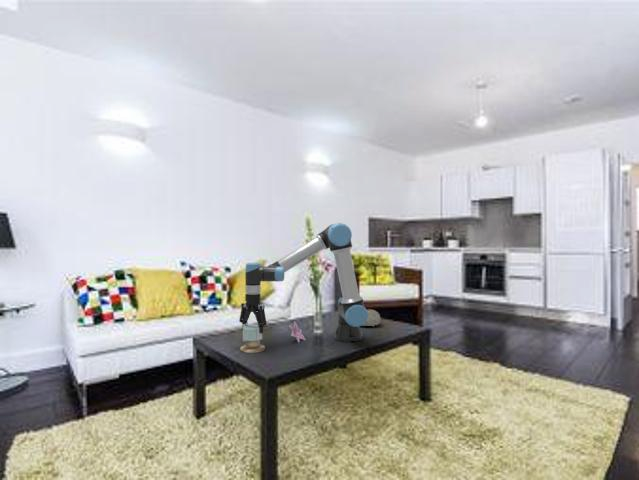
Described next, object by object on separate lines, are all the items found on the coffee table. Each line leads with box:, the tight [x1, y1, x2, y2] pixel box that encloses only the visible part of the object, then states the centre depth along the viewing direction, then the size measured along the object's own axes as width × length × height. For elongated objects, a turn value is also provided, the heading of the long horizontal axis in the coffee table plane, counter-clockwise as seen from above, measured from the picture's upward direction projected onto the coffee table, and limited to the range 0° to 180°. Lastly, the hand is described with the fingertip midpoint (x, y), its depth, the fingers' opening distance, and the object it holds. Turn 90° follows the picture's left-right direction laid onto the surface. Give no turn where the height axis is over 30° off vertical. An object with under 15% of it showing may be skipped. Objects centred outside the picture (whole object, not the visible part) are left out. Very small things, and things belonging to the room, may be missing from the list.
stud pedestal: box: [240, 340, 266, 354], centre depth 186 cm, size 12×12×9 cm
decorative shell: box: [361, 308, 382, 327], centre depth 239 cm, size 18×18×10 cm
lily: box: [288, 320, 306, 344], centre depth 202 cm, size 12×12×10 cm
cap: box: [242, 324, 259, 341], centre depth 186 cm, size 9×9×6 cm
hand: (252, 338), depth 186 cm, fingers closed on cap, 9 cm apart
